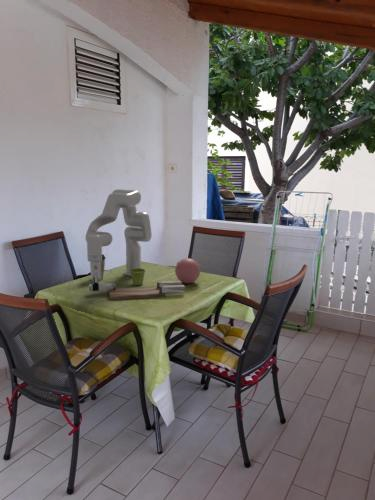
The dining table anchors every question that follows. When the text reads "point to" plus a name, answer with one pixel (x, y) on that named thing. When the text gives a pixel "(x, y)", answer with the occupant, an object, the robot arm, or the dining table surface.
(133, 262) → the robot arm
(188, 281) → the balloon
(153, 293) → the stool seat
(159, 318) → the dining table surface
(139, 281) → the plant pot
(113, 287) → the folding leg
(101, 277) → the coffee cup
